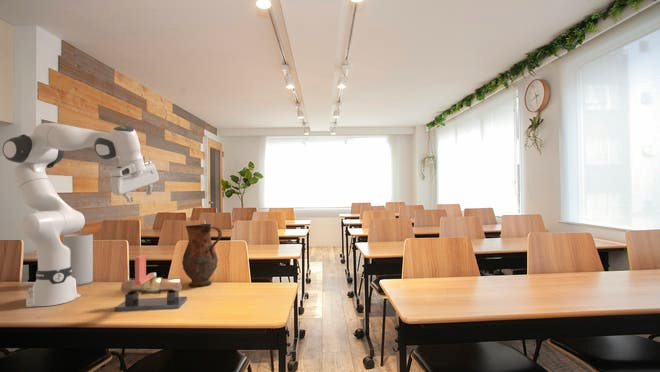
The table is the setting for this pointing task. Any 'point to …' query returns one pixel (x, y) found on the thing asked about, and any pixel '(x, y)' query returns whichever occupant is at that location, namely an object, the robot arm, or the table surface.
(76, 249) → the cylinder vase
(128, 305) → the valve
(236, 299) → the table surface
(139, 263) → the valve lever
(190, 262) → the pitcher
